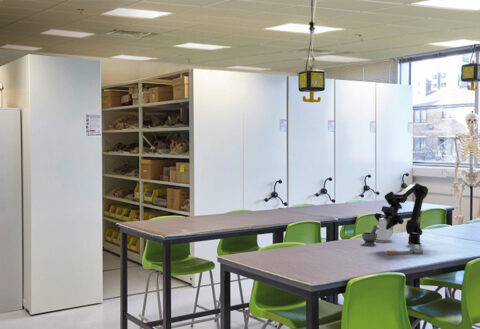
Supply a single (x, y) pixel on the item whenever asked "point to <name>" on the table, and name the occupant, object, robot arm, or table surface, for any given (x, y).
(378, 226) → the lidded bowl
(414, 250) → the ratchet
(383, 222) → the socket
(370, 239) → the mortar and pestle
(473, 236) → the table surface
